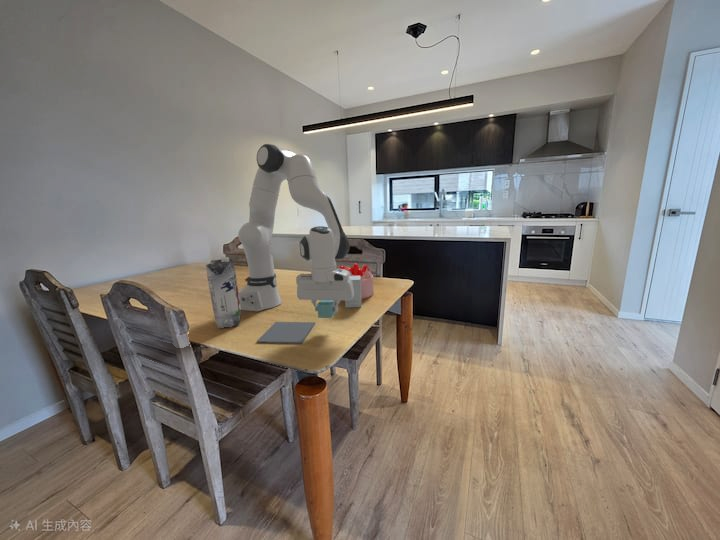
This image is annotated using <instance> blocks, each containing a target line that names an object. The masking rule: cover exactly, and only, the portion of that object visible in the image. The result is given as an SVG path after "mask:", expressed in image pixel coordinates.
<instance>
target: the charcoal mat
mask: <svg viewBox="0 0 720 540" xmlns="http://www.w3.org/2000/svg"><path fill="white" fill-rule="evenodd" d="M315 324H316V322H313V321H310V322H309V321H275V322H274V323H273V324H272V325H271V326H270V327H269V328H268V329H267V330H266V331H265V332H264V333H263V334H262V335H261V336H260V337H258V339H257V341H256V343H257V342H266V343H265V344H285V343H293V344H294V345H302V344H303V343H304V341H305V340H306V338H307V337H308V335H309V334H310V332H311V331H312V329H313V328H314V326H315Z"/></svg>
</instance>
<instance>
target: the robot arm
mask: <svg viewBox="0 0 720 540" xmlns="http://www.w3.org/2000/svg"><path fill="white" fill-rule="evenodd" d="M310 159H311V158H309V157H308V156H306V155H305V154H300V153H298V154H297V153H296V152H293V151H291V150H289V149H287V148H286V149H285V148H283V147H279V146H276V145H275V144H271V143H265V144H263V145H261V146H260V148H259V149H258V150H257V153H256V163H257V165H258V166H257V167H258V169H257V171H256V173H255V176H254V180H253V184H252V188H251V193H250V198H249V203H248V206H249V207H248V208H249V218H248V219H249V220H248V222H246V223H245V224H243V225H242V226H241V227H240V229H239V231H238V235H237V236H238V240H239V242H240V244H241V245H242V248H243V251H244V255H245V258H246V261H247V266H248V275H249V276H247V277H246V278H244V282H245V283H246V284H245V286H243V288H241V289H240V290H238V292H239V299H240V305H241V311H248V312H261V311H263V310H268V309H272V308H275V307H277V306H279V305H281V304H282V299H281V297H280V294H279V290H278V282H277V281H278V279H277V275H276V273H275V267H274V257H273V255H272V253H271V249H270V246H269V241H270V240H271V239H272V237H273V232H274V227H275V226H274V225H275V216H276V209H277V204H278V200H279V195H280V191H281V185H282V183H283V182H284V181H285V180H287V185H288V191H289V194H290V197H291V199H292V200H293V201H294V202H295V203H296V204H298V205H299V206H301V207H304V208H306V209H310V210H314V211H316V212H317V213H320V214H321V215H322V216H323V218H324V219H325V222H326V225H327V226H323V225H322V226H320V225H319V226H313V227H311V228H310V229H309V232H308V234H307V235H305V236H303V237H302V238H301V239H300V241H299V250H300V256H301V257H302V258H303V259H304V260H305V261H309V262H311V263H310V272H311V273H300V274H298V275H297V276H296V277H295V278H296V279H295V280H296V281H295V283H296V285H297V287H296V297H297V299H298V300H301V301H302V300H304V301H305V300H307V301H311V304H312V305H313V307H314V311H315V312H318V308H317V304H318V302H317V301H320V300H334V302H335V306H333V307H332V308H333V312H335V313H337V312H338V310H339V309H338V306H339V304H340V303H341V301H345V300H349V301H350V300H352V299H353V297H354V289H353V283H352V280H351V279H350V278H349V276H350V272H349V271H347V270H344V269H341V268H339V267H337V262H336V260H343V259H344V258H345V257H346V256H347V254H348V253H349V252H350V249H351V248H350V247H351V246H350V245H351V244H350V241H349V238H348V237H347V235H346V233H345V232H344V229H343V227H342V224H341V222H340V219H339V216H338V214H337V212H336V209H335V207H334V204H333V202H332V200H331V198H330V196H329V195H328V194H327V193H325V192H324V191H323V189H321V187H320V185H319V183H318V180H317V179H318V178H317V176H316V175H317V174H316V172H315V171H316V170H315V169H314V168H315V167H314V166H313V163H312V161H311V160H310Z"/></svg>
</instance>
